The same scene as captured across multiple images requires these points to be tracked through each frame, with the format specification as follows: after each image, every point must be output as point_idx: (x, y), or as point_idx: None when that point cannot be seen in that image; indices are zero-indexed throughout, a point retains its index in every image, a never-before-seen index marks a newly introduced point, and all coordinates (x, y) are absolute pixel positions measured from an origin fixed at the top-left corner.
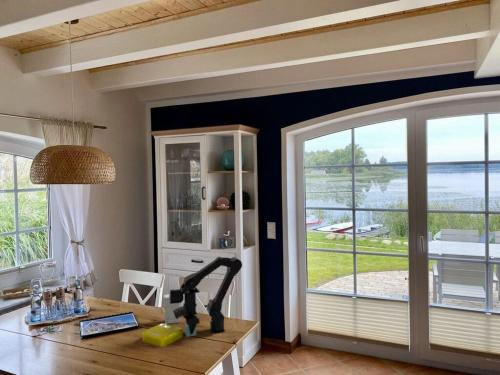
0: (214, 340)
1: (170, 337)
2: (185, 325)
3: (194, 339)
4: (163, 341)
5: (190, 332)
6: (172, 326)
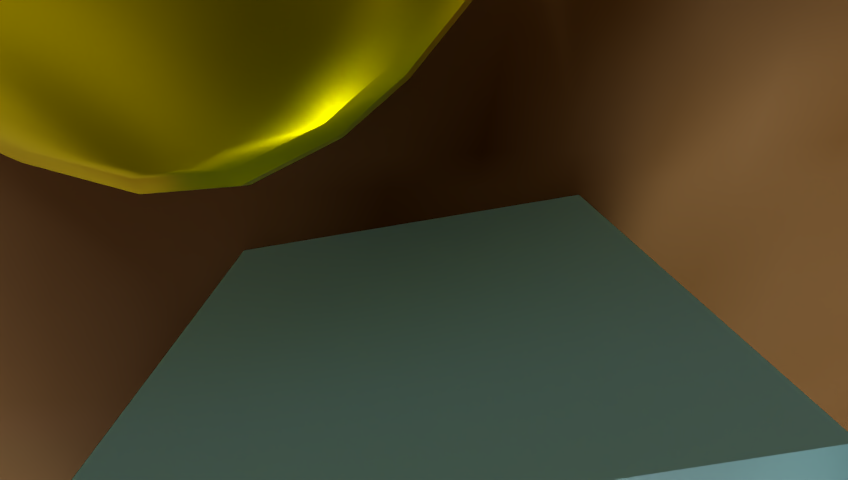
0: None
1: None
2: (436, 476)
3: (39, 466)
4: None
5: None
6: None
